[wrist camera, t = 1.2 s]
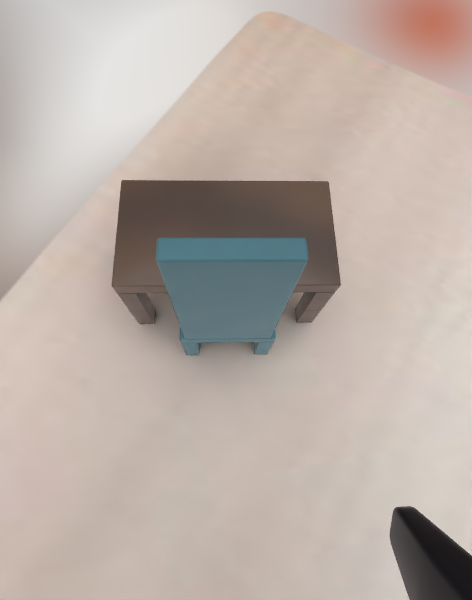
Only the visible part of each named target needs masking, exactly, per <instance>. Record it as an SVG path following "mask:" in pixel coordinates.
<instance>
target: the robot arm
mask: <svg viewBox="0 0 472 600" xmlns="http://www.w3.org/2000/svg"><path fill="white" fill-rule="evenodd" d="M390 541H391V545H392V548H393V551H394V554H395V557H396V560H397V563H398V566H399V569H400V572H401V575H402V578H403V581H404V584H405V587H406V590H407V593H408V596H409V599H410V600H472V556H471V555H470V554H469V553H468V552H467V551H465V550H464V549H463V548H462V547H461V546H459V545H458V544H457V543H456V542H455V541H453V540H452V539H451V538H450V537H449V536H448V535H446V534H445V533H444V532H443V531H442V530H440V529H439V528H438V527H437V526H436V525H434V524H433V523H432V522H431V521H430V520H428V519H427V518H426V517H425V516H424V515H423V514H421V513H420V512H419V511H418V510H417V509H415V508H413V507H411V506H406V507H396V508H395V509H394V511H393V516H392V522H391V528H390Z"/></svg>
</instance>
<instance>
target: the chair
mask: <svg viewBox="0 0 472 600" xmlns="http://www.w3.org/2000/svg"><path fill="white" fill-rule="evenodd" d="M156 261H157V264H158V266H159V269H160V272H161V275H162V277H163V280H164V283H165V286H166V288H167V291H168V294H169V297H170V299H171V302H172V305H173V308H174V310H175V313H176V316H177V319H178V321H179V324H180V340H181V343H182V345H183V347H184V350H185V352H186V355H198V354H199V343H215V342H254V354H267V353H268V351H269V349H270V347H271V345H272V343H273V341H274V339H275V327H276V325H277V323H278V321H279V319H280V317H281V315H282V313H283V311H284V309H285V307H286V305H287V303H288V301H289V299H290V297H291V294H292V292H293V290H294V288H295V286H296V284H297V282H298V280H299V278H300V276H301V274H302V272H303V270H304V268H305V266H306V264H307V262H308V249H307V240H306V238H158V240H157V250H156Z"/></svg>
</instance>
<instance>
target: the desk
mask: <svg viewBox="0 0 472 600" xmlns="http://www.w3.org/2000/svg"><path fill="white" fill-rule="evenodd" d="M158 238H306V240H307V249H308V262H307V264H306V266H305V268H304V270H303V272H302V274H301V276H300V278H299V280H298V282H297V284H296V286H295V288H294V290H293V292H305V293H304V295H303V296H302V298H301V300H300V302H299V303H298V305H297V307H296V321H297V322H298V323H299V322H312V321H313V320H314V319H315V317H316V316H317V315H318V313H319V312H320V311H321V309H322V308H323V307H324V306H325V304H326V303H327V302H328V300H329V299H330V298H331V297H332V295H333V294H334V293H335V291H336V290H337V289H338V288H339V286H340V285H341V283H340V274H339V266H338V257H337V249H336V240H335V232H334V223H333V215H332V207H331V198H330V190H329V182H328V181H160V180H122V181H121V192H120V202H119V213H118V223H117V234H116V245H115V255H114V266H113V277H112V287H113V288H114V290H115V291H116V293H118V295H119V296H120V298H121V299H122V301H123V302H124V303H125V305H126V306H127V308H128V309H129V310H130V312H131V313H132V315H133V316H134V317H135V319H136V320H137V322H138V323H139V324H153V323H154V321H155V309H154V307H153V305H152V303H151V301H150V299H149V297H148V295H147V293H168V291H167V288H166V286H165V283H164V280H163V277H162V275H161V272H160V269H159V266H158V264H157V261H156V250H157V240H158Z"/></svg>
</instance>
